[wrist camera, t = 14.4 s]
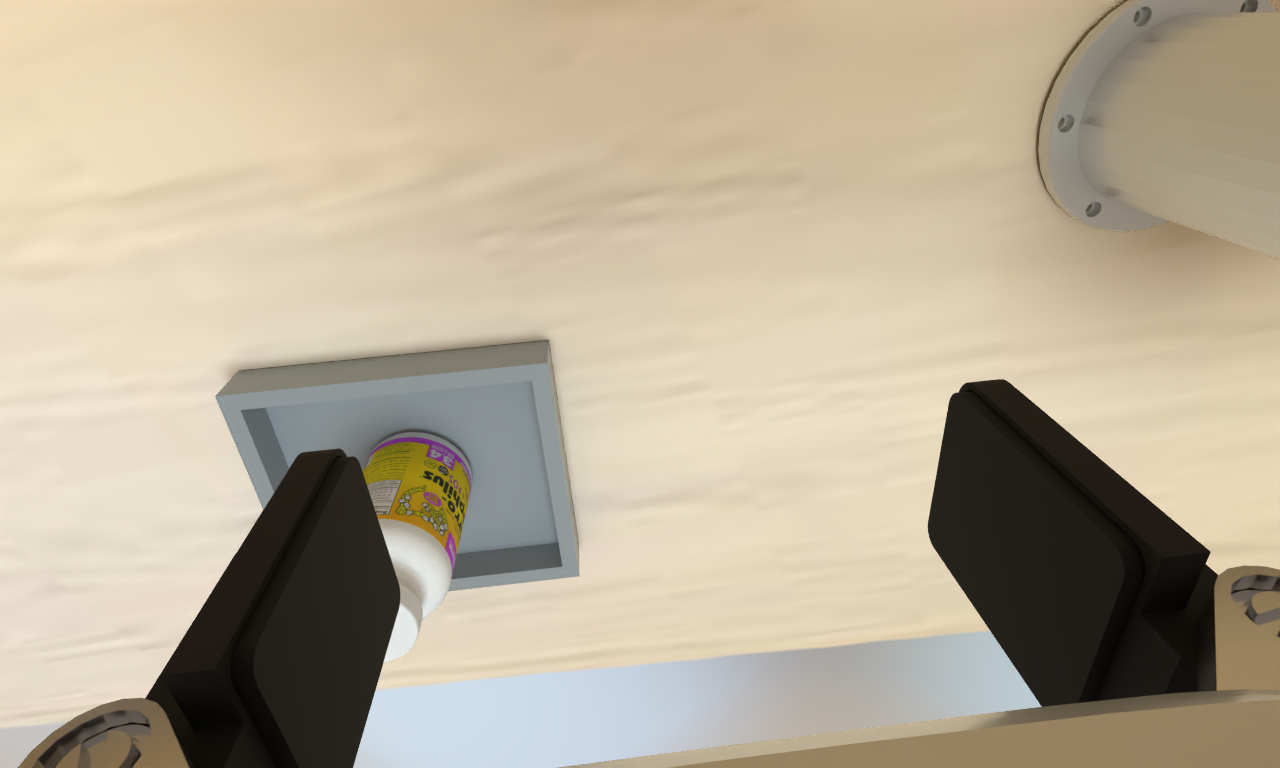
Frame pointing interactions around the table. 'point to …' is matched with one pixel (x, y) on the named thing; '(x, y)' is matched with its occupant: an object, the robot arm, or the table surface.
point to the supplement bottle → (418, 521)
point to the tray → (445, 407)
